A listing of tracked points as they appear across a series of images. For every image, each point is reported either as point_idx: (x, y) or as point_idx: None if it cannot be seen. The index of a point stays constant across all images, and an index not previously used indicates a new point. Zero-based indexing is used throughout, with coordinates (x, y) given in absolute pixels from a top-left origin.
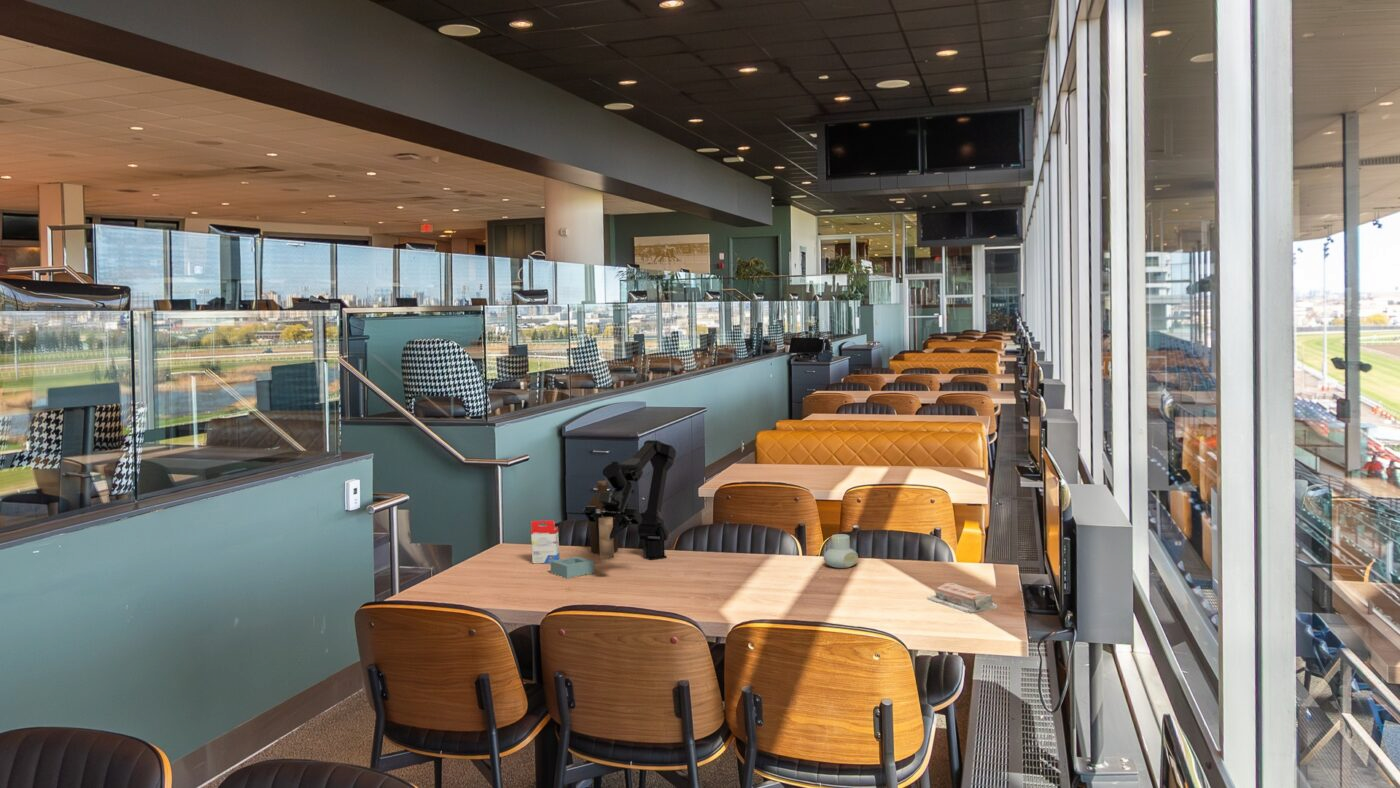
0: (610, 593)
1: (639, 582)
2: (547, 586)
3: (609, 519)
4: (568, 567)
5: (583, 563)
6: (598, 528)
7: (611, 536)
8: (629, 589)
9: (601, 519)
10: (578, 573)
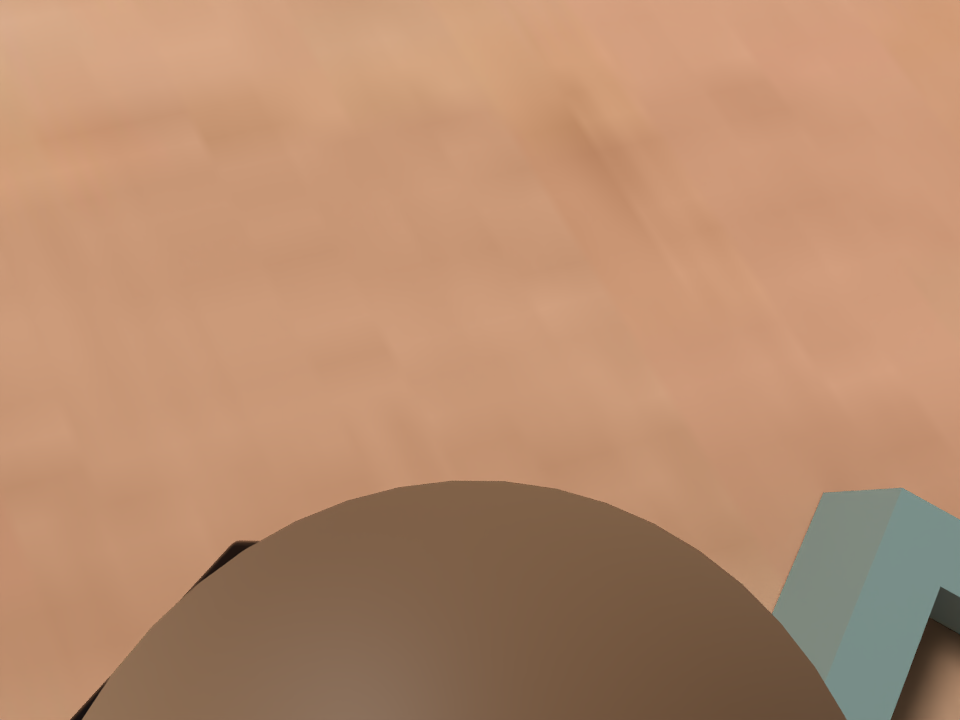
0: (161, 108)
1: (32, 560)
2: (818, 193)
3: (101, 707)
4: (882, 508)
5: None
6: None
7: (222, 565)
8: (36, 273)
9: (523, 485)
10: (787, 616)
